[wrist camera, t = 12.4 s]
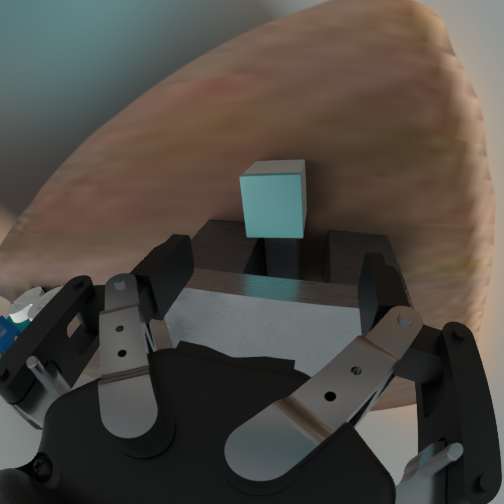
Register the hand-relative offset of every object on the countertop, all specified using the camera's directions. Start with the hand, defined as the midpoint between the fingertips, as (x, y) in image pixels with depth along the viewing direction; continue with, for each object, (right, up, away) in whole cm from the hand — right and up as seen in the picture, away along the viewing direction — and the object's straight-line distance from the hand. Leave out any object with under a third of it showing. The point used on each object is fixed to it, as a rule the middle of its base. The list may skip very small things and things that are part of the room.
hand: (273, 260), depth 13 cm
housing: (+4, -1, +17) cm, 18 cm away
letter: (-41, -7, +33) cm, 53 cm away
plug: (+3, 0, +17) cm, 18 cm away
